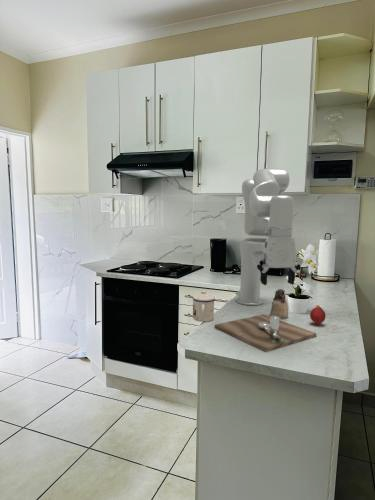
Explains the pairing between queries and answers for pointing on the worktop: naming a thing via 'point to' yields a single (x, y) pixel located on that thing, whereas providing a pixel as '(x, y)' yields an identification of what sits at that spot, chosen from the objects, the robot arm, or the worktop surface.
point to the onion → (317, 315)
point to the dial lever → (271, 327)
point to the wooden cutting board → (264, 332)
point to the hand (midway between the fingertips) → (277, 283)
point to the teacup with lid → (203, 307)
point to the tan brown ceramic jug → (279, 305)
